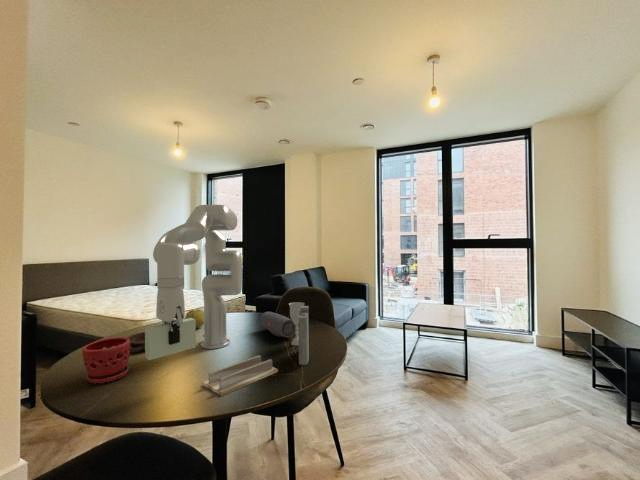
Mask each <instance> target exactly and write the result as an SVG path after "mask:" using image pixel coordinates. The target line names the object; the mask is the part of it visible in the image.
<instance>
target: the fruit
mask: <svg viewBox="0 0 640 480" xmlns="http://www.w3.org/2000/svg"><path fill="white" fill-rule="evenodd" d="M188 318H193V319H195V324H196V329H199V328H201V327H203V326H204V310H202V309H199V308H198V309H197V308H196V309H191V310H189V311H187V313H186V314H185V316H184V319H188Z"/></svg>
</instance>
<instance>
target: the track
mask: <svg viewBox="0 0 640 480" xmlns="http://www.w3.org/2000/svg"><path fill="white" fill-rule="evenodd" d="M278 372H279V368H276V367H274V366H273V359H272V358H270V359H267V360H264V361H262V355H256V356H253V357H251V358H247V359H245V360H242V361H239V362H237V363H234V364H231V365H227V366H224V367H222V368H219V369H217V370H213V371H211V372H208V379H207V380H205V381H202V386H203V387H205V388H207V389H209V390H211V391H212V392H214V394H215V393H216V394H218V395H219V396H221V397H223V396H225V395H228V394H231V393H232V392H235V391H237V390H239V389H242V388H243V387H246V386H248V385H251V384H253V383H255V382H258V381H261V380H262V379H264V378H265V379H266V378H267V377H269V376H271V375H274V374H276V373H278Z"/></svg>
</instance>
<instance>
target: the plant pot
mask: <svg viewBox="0 0 640 480" xmlns="http://www.w3.org/2000/svg"><path fill="white" fill-rule="evenodd" d="M103 348H104V349H103ZM130 354H131V353H130V340H129V339H128V338H127V337H110V338H105V339H101V340H97V341H93V342H91V343H88V344H86V345H85V346H84V347H82V361H83V365H84V368H85V371H86V372H87V374H88V375H87V377H86V379H87V381H88V382H89V383H90V384H96V383H99V384H106V383H105V382H107V383H111V382H110V381H112V382H114V381H116V379H117V380H119V379H121V378H123V377H124V376H126V374H127V373H128V372H129V366H128V365H127V364H128V363H129V360H130ZM113 380H114V381H113Z"/></svg>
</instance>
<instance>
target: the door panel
mask: <svg viewBox="0 0 640 480" xmlns="http://www.w3.org/2000/svg"><path fill="white" fill-rule="evenodd" d="M175 323H176V322H175ZM173 325H174V323H173ZM196 329H197V328H196V324H195V319H193V318H188V319H185V318H184V319H183V324H182V325H181V326H180V342H179V343H175V344H172V345H169V339H168V332H169V331H170V326H169V323H164V324H163V323H160V324H156V325H149V326H145V327H144V332H145V351H144V359H146V360H148V361H151V360H156V359H159V358H162V357H166V356H170V355H172V354H175V353H180V352H184V351H187V350H190V349H194V348H196V347H197V345H196V344H197V341H196V340H197V338H196V331H197V330H196Z"/></svg>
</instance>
